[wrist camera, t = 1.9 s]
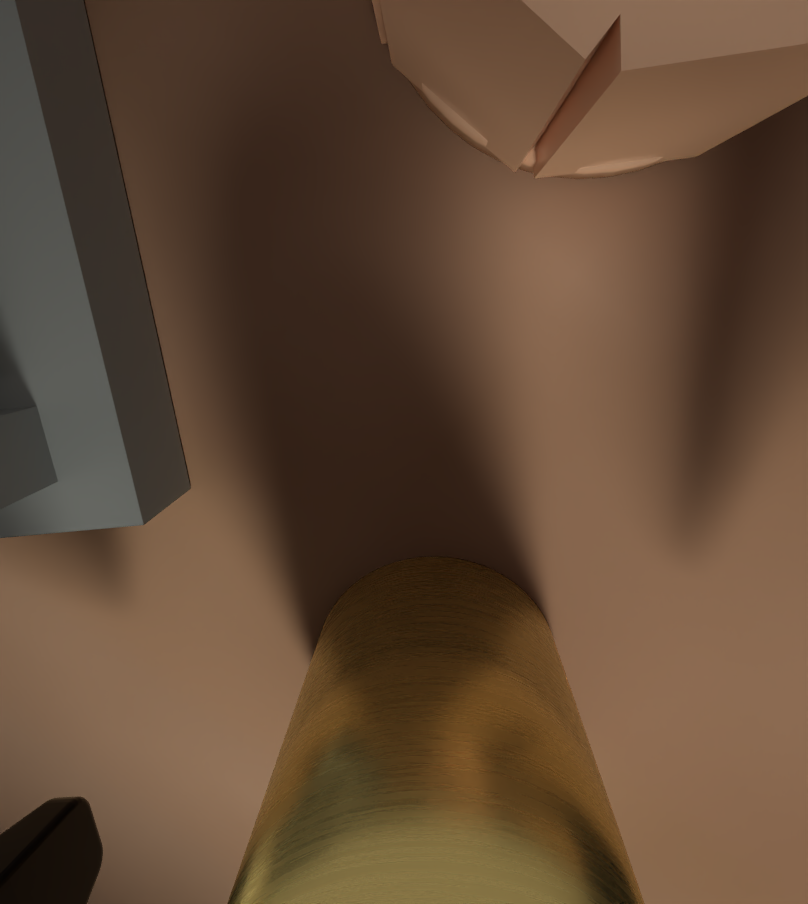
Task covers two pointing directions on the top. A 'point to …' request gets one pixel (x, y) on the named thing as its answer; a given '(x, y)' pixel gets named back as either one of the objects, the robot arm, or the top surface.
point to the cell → (435, 758)
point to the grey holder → (72, 298)
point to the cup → (598, 75)
